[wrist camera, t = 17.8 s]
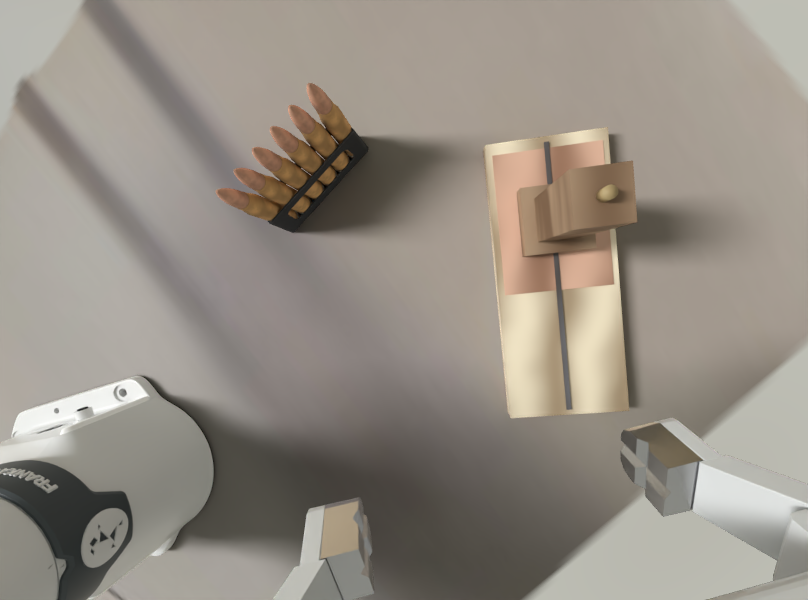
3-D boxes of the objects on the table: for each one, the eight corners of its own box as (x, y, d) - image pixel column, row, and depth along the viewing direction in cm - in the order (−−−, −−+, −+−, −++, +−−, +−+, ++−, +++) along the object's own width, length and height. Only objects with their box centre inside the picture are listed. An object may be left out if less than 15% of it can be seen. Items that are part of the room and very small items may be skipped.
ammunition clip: (355, 135, 34) (308, 61, 22) (369, 149, 34) (329, 83, 22) (279, 219, 36) (197, 192, 24) (293, 233, 36) (217, 212, 24)
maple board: (508, 412, 35) (511, 418, 33) (483, 150, 33) (485, 144, 32) (621, 404, 33) (630, 411, 32) (600, 133, 32) (608, 126, 30)
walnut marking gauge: (522, 256, 32) (563, 247, 21) (516, 192, 32) (555, 148, 21) (589, 249, 31) (667, 235, 20) (583, 183, 31) (660, 133, 20)
